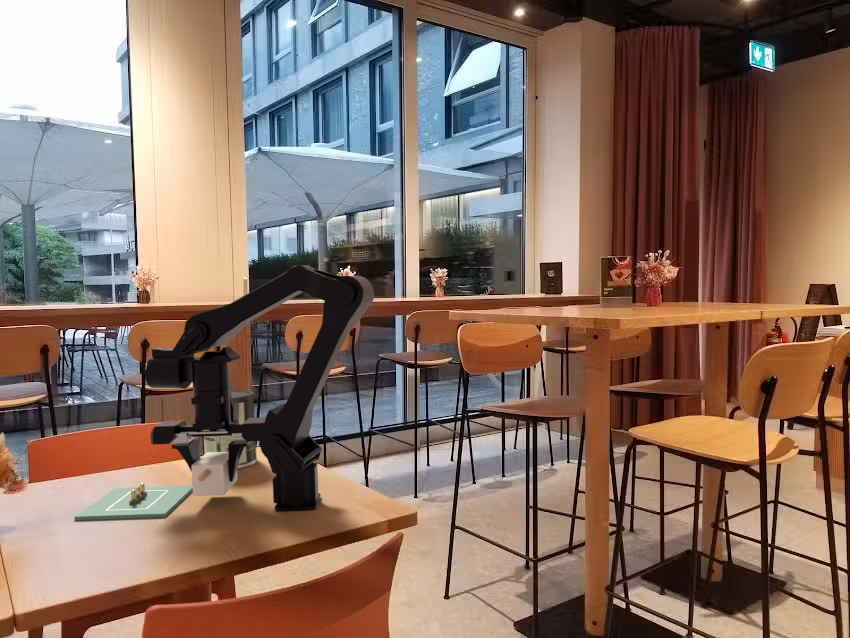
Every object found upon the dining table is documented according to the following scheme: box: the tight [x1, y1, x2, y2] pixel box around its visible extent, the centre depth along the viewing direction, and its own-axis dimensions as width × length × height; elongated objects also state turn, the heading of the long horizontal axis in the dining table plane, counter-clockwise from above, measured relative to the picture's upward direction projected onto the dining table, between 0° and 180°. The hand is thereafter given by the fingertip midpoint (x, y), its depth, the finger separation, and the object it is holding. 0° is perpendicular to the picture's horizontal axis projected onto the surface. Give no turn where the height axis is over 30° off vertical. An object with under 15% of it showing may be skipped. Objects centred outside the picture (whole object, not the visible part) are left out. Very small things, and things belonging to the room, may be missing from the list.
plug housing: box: [191, 452, 238, 497], centre depth 107 cm, size 5×12×5 cm, turn 1°
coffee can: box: [203, 389, 258, 470], centre depth 132 cm, size 10×10×14 cm
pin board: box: [73, 482, 193, 521], centre depth 109 cm, size 14×14×3 cm
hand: (215, 481), depth 109 cm, fingers closed on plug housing, 5 cm apart
